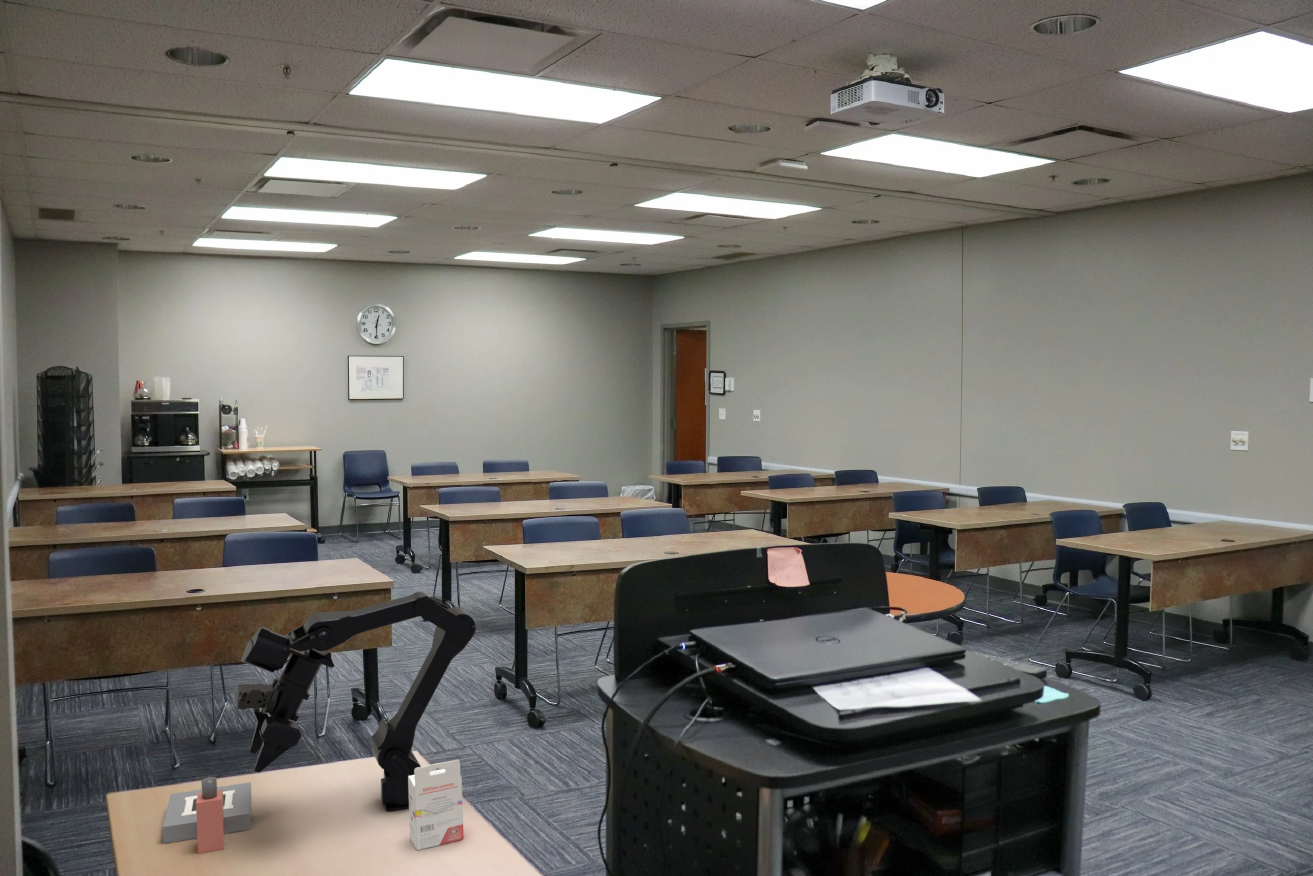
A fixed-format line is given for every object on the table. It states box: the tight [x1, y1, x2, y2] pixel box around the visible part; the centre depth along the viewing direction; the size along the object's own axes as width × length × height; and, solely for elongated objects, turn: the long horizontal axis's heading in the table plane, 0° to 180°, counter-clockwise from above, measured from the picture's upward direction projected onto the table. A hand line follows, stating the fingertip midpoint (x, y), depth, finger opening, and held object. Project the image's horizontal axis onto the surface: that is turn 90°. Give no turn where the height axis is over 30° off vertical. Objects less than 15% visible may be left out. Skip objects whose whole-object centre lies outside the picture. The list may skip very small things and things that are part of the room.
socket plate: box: [162, 782, 252, 845], centre depth 179 cm, size 14×14×3 cm
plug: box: [196, 776, 226, 855], centre depth 169 cm, size 4×4×12 cm
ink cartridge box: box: [408, 759, 464, 851], centre depth 171 cm, size 9×5×15 cm, turn 118°
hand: (254, 762), depth 174 cm, fingers open, 9 cm apart
